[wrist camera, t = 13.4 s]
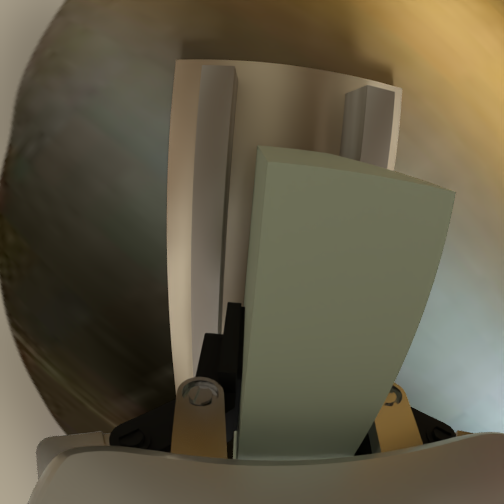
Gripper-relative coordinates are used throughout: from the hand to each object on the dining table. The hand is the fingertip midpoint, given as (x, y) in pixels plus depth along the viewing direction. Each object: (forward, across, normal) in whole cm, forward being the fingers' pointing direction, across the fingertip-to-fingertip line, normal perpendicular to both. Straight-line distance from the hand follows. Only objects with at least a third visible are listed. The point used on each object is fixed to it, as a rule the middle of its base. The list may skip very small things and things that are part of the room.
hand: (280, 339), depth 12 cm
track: (+6, 0, 0) cm, 6 cm away
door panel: (+3, 0, 0) cm, 3 cm away
